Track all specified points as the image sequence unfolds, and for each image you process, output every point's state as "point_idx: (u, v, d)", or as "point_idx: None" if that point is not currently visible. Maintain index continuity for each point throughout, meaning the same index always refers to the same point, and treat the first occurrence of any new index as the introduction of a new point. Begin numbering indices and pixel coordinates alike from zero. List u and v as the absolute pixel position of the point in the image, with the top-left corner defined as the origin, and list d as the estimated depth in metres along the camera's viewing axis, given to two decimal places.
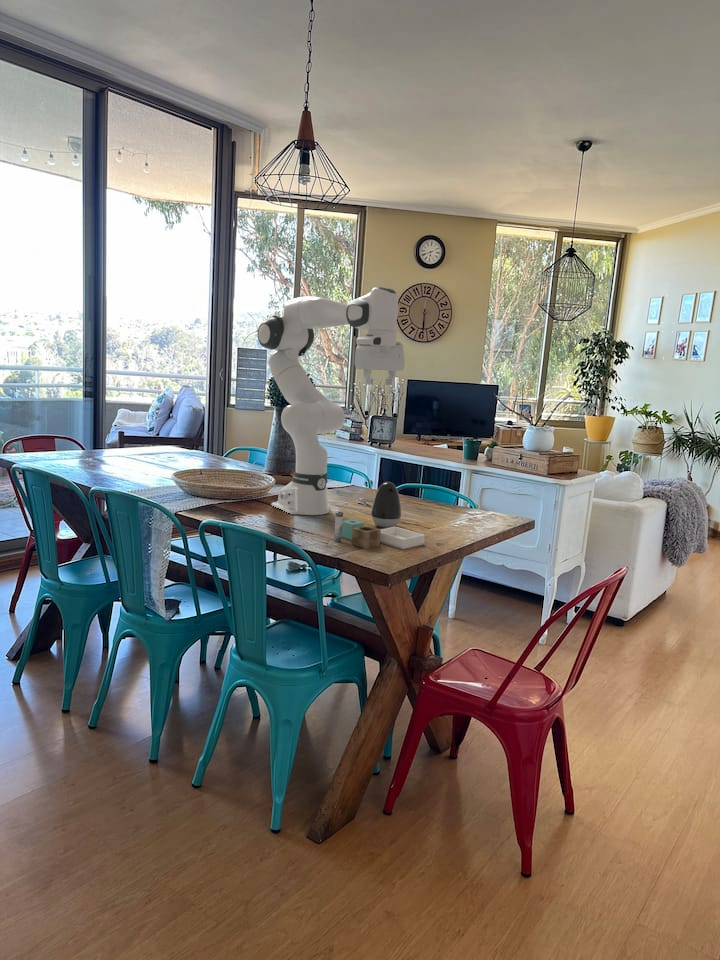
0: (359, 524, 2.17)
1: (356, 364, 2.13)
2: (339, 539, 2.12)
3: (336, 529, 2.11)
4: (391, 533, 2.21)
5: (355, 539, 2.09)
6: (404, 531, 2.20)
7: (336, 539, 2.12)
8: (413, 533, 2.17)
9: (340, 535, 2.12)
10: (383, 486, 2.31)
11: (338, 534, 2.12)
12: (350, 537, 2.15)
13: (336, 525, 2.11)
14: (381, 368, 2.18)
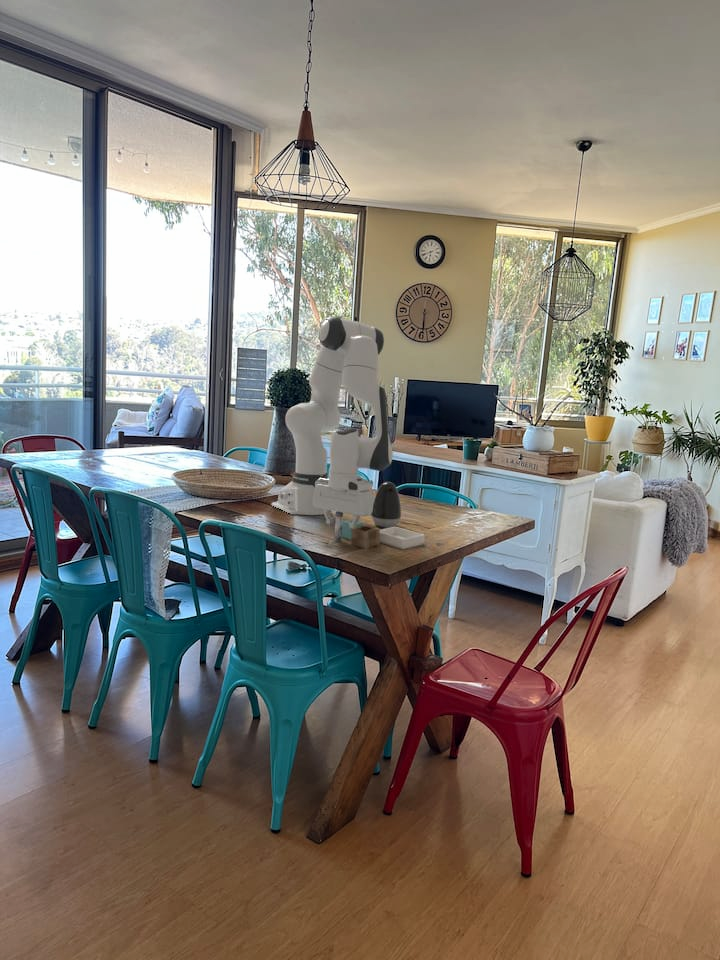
0: (359, 524, 2.17)
1: (368, 512, 2.04)
2: (339, 539, 2.12)
3: (336, 529, 2.11)
4: (391, 533, 2.21)
5: (355, 540, 2.09)
6: (404, 531, 2.20)
7: (336, 539, 2.12)
8: (413, 533, 2.17)
9: (340, 535, 2.12)
10: (383, 486, 2.31)
11: (338, 534, 2.12)
12: (350, 537, 2.15)
13: (336, 525, 2.11)
14: None
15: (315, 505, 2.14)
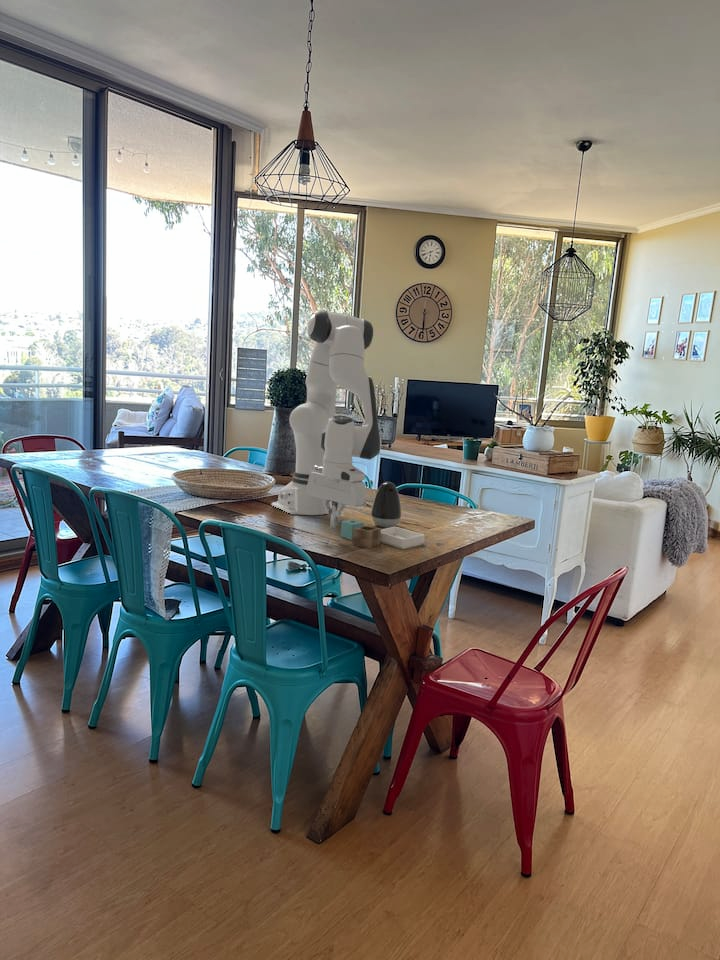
0: (359, 524, 2.17)
1: (359, 502, 2.04)
2: (334, 528, 2.12)
3: (332, 518, 2.11)
4: (391, 533, 2.21)
5: (357, 539, 2.09)
6: (404, 531, 2.20)
7: (331, 528, 2.12)
8: (413, 533, 2.17)
9: (336, 524, 2.12)
10: (383, 486, 2.31)
11: (333, 522, 2.11)
12: (350, 537, 2.15)
13: (332, 514, 2.11)
14: None
15: (309, 492, 2.14)
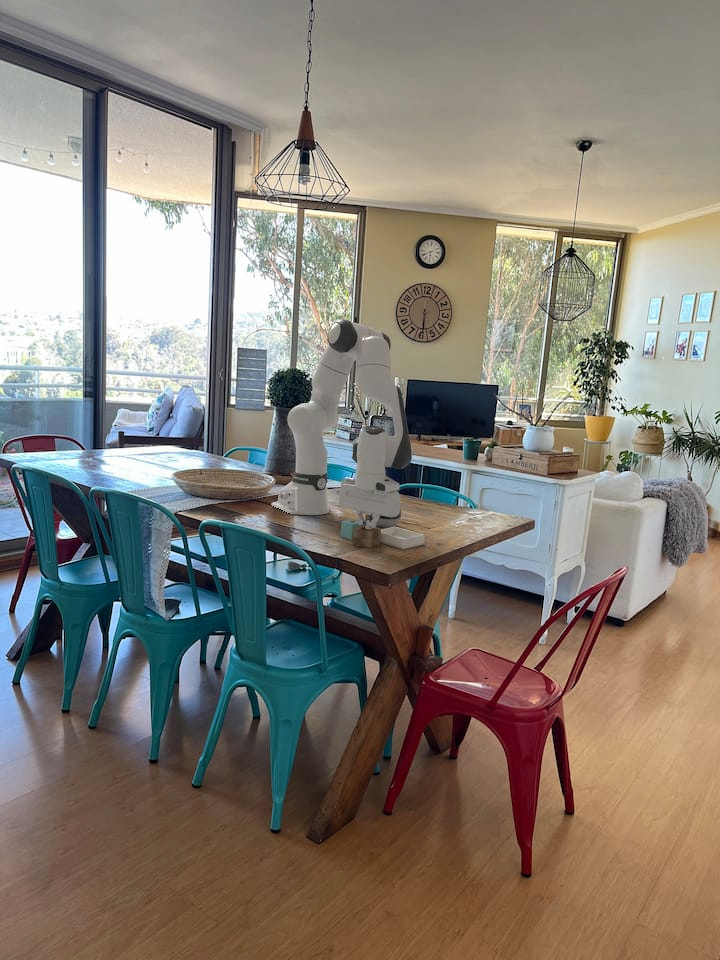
0: None
1: (395, 513, 2.02)
2: None
3: None
4: (391, 533, 2.21)
5: (357, 539, 2.09)
6: (404, 531, 2.20)
7: None
8: (413, 533, 2.17)
9: None
10: None
11: None
12: (350, 537, 2.15)
13: (366, 528, 2.09)
14: None
15: (341, 505, 2.12)
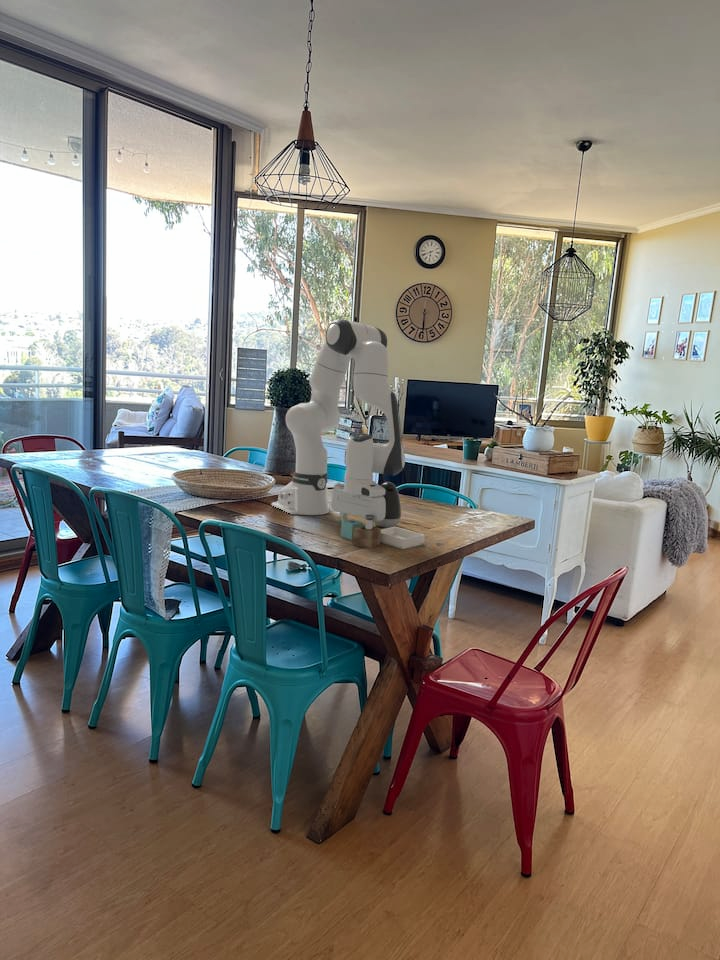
0: (359, 524, 2.17)
1: (379, 517, 2.10)
2: None
3: None
4: (391, 533, 2.21)
5: (357, 539, 2.09)
6: (404, 531, 2.20)
7: None
8: (413, 533, 2.17)
9: None
10: (383, 486, 2.31)
11: None
12: (350, 537, 2.15)
13: (366, 528, 2.09)
14: None
15: (333, 508, 2.22)
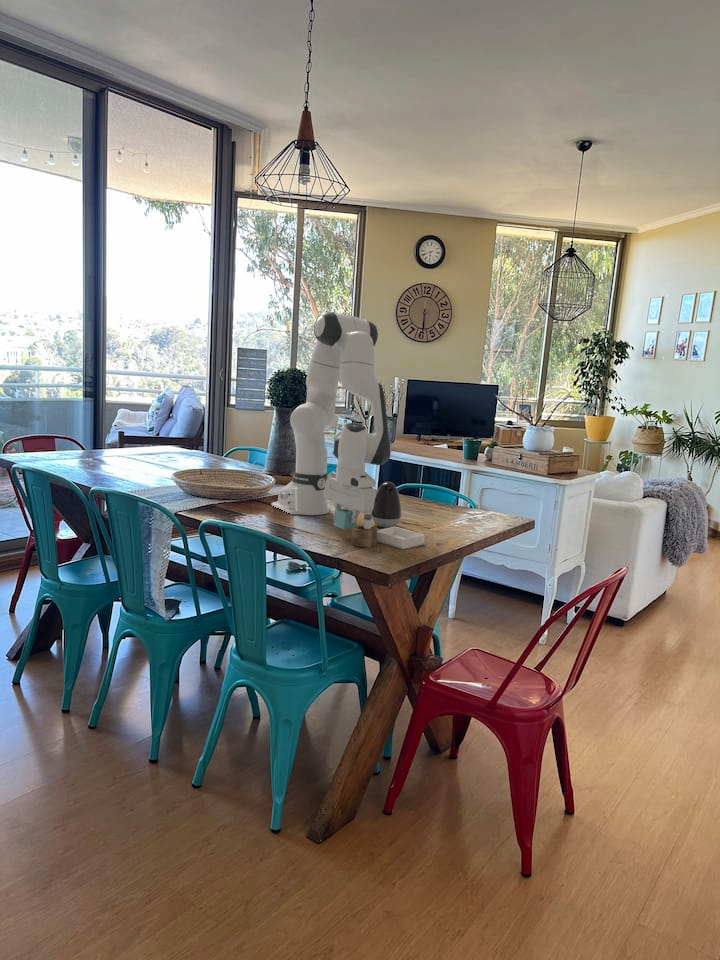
0: (352, 513, 2.15)
1: (367, 508, 2.08)
2: None
3: None
4: (391, 533, 2.21)
5: (356, 539, 2.09)
6: (404, 531, 2.20)
7: None
8: (413, 533, 2.17)
9: None
10: (383, 486, 2.31)
11: None
12: (342, 526, 2.14)
13: (365, 528, 2.10)
14: None
15: (325, 497, 2.21)
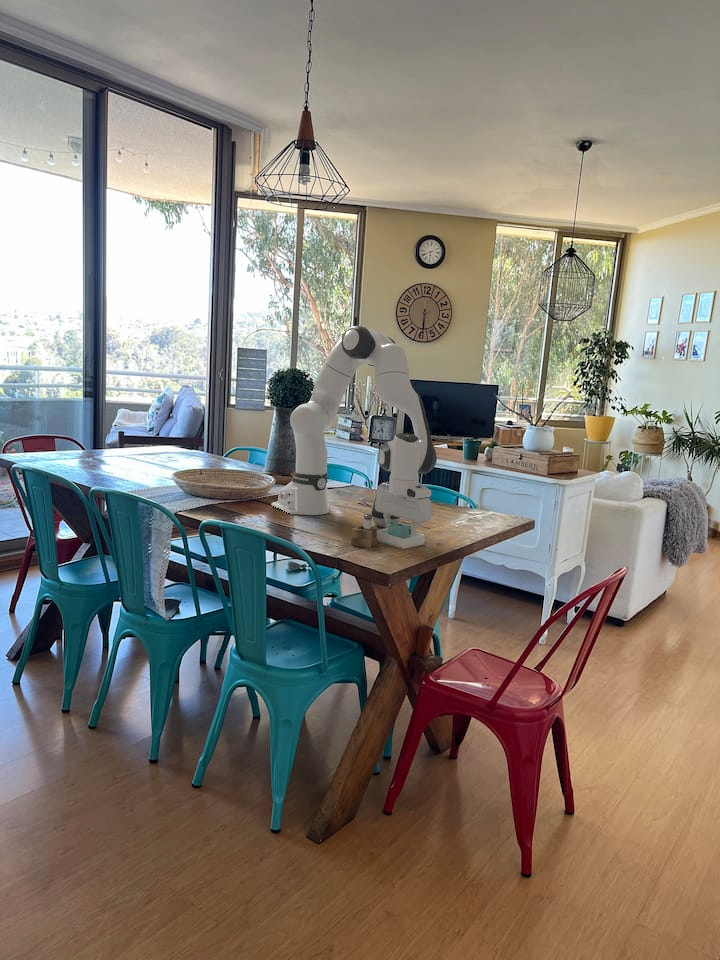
0: (407, 527, 2.13)
1: (425, 519, 2.06)
2: None
3: None
4: None
5: (356, 539, 2.09)
6: None
7: None
8: None
9: None
10: None
11: None
12: None
13: (365, 528, 2.10)
14: None
15: (377, 509, 2.19)
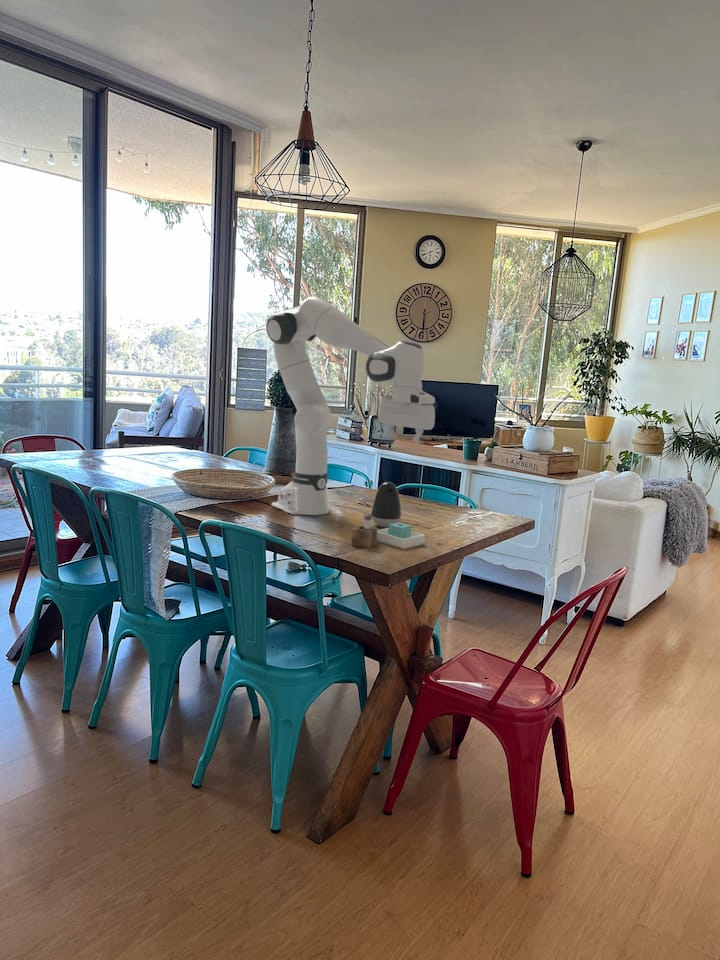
0: (407, 527, 2.13)
1: (428, 425, 2.05)
2: None
3: None
4: None
5: (356, 540, 2.09)
6: None
7: None
8: (413, 533, 2.17)
9: None
10: (383, 486, 2.31)
11: None
12: None
13: (365, 528, 2.10)
14: None
15: (380, 420, 2.17)
